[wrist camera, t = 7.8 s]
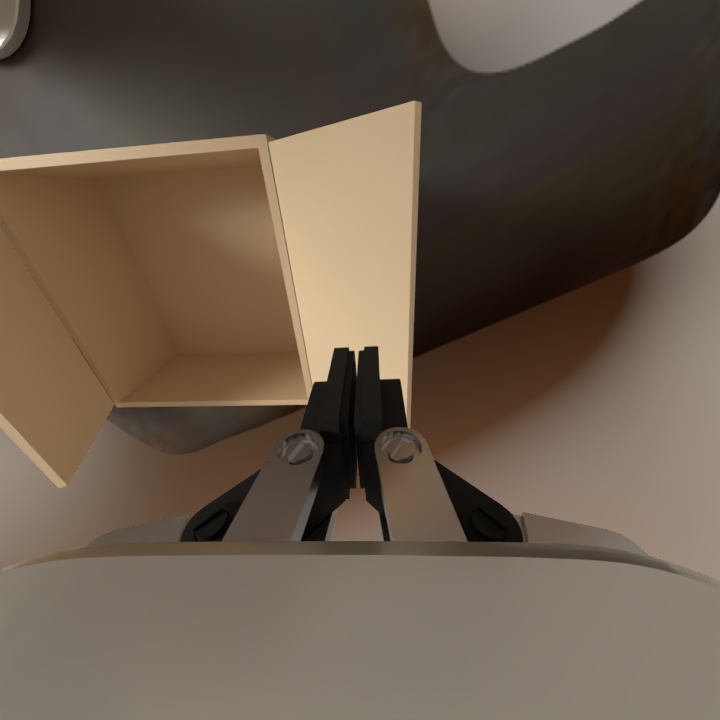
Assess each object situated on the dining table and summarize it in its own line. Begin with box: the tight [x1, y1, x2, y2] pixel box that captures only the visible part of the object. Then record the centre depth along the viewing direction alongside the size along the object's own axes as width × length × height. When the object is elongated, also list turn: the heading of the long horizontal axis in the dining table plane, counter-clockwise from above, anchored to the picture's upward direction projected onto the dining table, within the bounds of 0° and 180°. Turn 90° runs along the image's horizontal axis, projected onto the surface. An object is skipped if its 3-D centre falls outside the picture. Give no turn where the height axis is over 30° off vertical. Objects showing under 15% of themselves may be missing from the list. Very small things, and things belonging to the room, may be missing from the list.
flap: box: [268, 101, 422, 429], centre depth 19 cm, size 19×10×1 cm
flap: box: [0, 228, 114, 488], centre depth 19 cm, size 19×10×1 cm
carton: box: [0, 134, 313, 407], centre depth 26 cm, size 20×20×10 cm
